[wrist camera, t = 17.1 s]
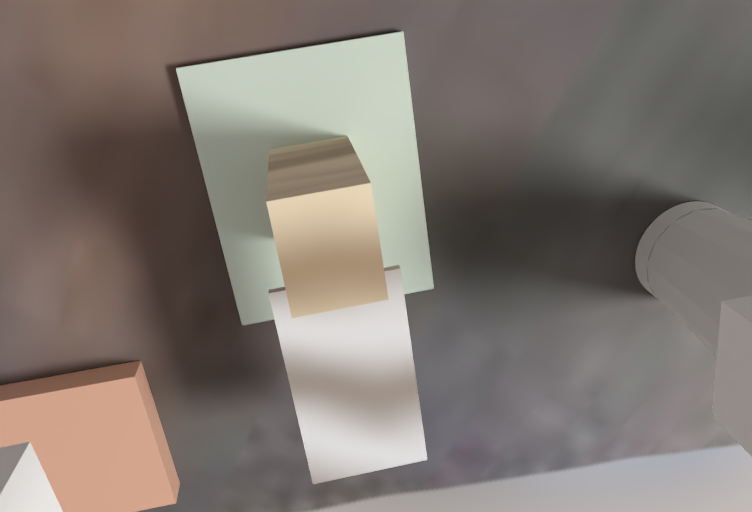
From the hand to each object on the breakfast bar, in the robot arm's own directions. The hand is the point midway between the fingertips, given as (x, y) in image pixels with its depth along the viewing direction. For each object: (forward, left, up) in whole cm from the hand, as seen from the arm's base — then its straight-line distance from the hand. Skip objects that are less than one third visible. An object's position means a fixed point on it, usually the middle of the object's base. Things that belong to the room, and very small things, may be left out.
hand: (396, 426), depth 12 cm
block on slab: (+7, -1, -22) cm, 23 cm away
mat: (+2, -1, -23) cm, 23 cm away
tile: (+10, -17, -22) cm, 29 cm away
